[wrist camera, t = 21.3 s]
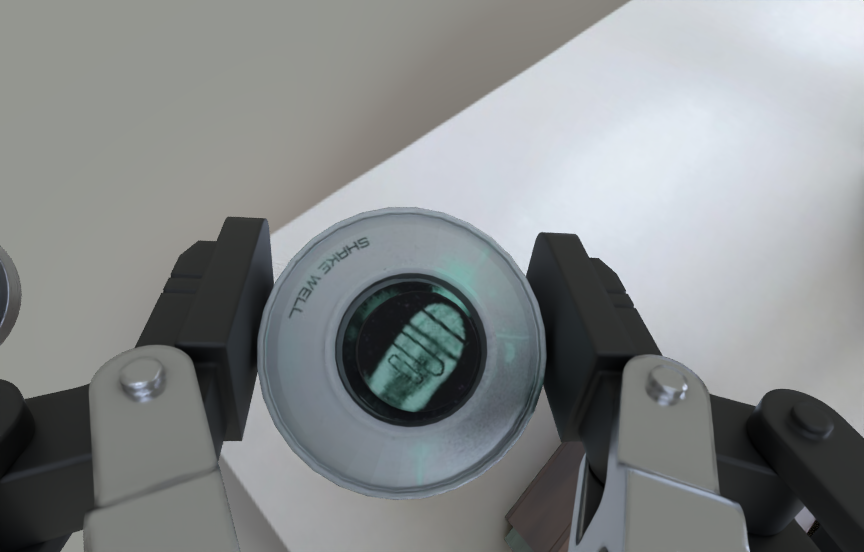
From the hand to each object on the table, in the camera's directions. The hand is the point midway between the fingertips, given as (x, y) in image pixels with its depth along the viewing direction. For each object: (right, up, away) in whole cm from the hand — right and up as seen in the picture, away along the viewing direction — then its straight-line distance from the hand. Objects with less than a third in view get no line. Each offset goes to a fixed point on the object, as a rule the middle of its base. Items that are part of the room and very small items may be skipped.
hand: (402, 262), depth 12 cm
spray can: (-2, -4, +16) cm, 16 cm away
